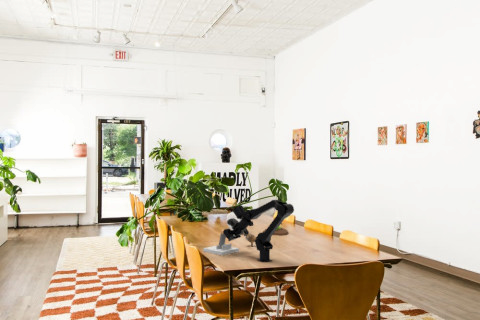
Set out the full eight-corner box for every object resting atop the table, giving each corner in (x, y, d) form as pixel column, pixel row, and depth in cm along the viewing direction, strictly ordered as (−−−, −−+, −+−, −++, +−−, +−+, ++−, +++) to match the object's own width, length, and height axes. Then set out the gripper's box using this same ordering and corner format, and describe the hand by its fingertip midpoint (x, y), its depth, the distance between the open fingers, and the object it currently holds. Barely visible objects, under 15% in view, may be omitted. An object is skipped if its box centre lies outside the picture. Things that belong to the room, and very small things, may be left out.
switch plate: (239, 251, 280) (239, 243, 280) (222, 255, 268) (222, 247, 268) (220, 247, 290) (220, 240, 290) (203, 251, 278) (203, 243, 278)
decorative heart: (227, 235, 335) (228, 213, 334) (224, 233, 345) (224, 211, 345) (250, 235, 340) (251, 212, 340) (246, 232, 350) (246, 210, 350)
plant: (288, 232, 358) (289, 218, 358) (288, 236, 339) (288, 221, 339) (264, 231, 361) (264, 217, 361) (261, 235, 342) (262, 220, 342)
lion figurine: (245, 247, 294) (245, 233, 294) (245, 245, 299) (245, 232, 299) (267, 247, 294) (267, 233, 294) (266, 245, 300) (267, 232, 300)
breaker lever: (224, 247, 280) (227, 230, 279) (219, 249, 277) (222, 231, 275) (222, 246, 282) (225, 229, 280) (217, 247, 278) (220, 230, 276)
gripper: (245, 213, 279) (232, 228, 286) (225, 215, 264) (211, 232, 272) (255, 227, 274) (241, 242, 281) (235, 230, 259) (221, 246, 267)
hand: (228, 240), depth 275 cm, fingers closed
